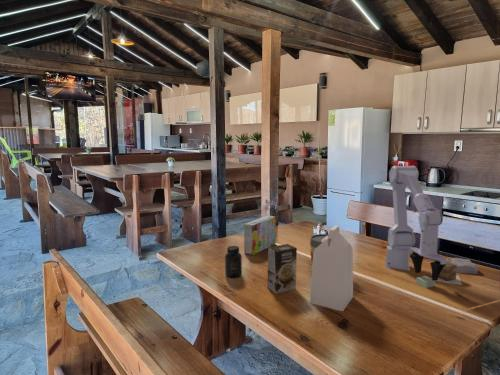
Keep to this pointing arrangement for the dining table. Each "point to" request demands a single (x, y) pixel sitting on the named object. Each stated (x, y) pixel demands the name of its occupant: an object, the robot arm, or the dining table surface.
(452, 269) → the tower top
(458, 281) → the felt mat
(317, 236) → the reusable coffee cup
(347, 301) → the milk
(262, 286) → the dining table surface
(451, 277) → the tower base
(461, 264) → the stone block
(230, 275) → the supplement bottle
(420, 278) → the pale green cube
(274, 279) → the coffee box
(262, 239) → the snack box
